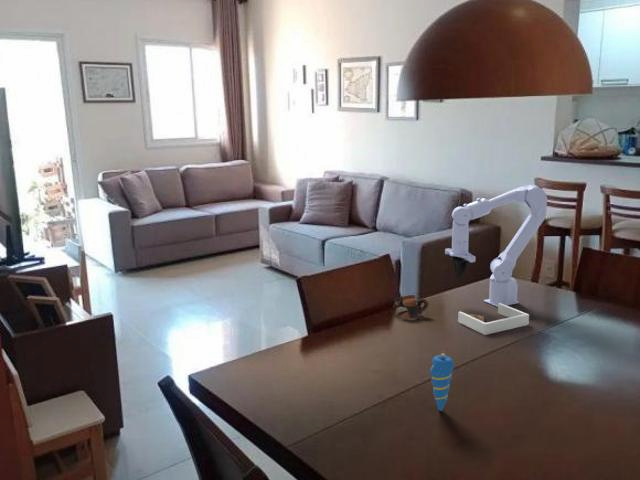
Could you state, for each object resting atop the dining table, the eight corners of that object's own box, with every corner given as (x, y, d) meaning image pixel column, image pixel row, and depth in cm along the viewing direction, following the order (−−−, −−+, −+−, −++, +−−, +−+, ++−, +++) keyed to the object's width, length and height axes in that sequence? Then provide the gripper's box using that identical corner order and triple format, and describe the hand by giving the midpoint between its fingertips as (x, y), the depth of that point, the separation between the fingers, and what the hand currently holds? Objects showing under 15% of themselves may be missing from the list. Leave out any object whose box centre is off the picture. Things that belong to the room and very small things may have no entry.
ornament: (436, 403, 137) (437, 344, 133) (456, 409, 133) (458, 350, 130) (425, 412, 133) (426, 352, 129) (446, 419, 129) (447, 357, 126)
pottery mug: (395, 322, 192) (390, 298, 194) (398, 324, 200) (393, 301, 203) (430, 314, 189) (424, 290, 192) (432, 317, 198) (427, 294, 200)
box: (500, 312, 196) (500, 303, 195) (528, 324, 184) (529, 314, 184) (458, 321, 188) (458, 311, 188) (484, 335, 177) (485, 324, 176)
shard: (480, 332, 180) (480, 326, 180) (456, 329, 183) (456, 324, 183) (485, 320, 190) (485, 315, 190) (461, 318, 193) (462, 313, 193)
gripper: (438, 238, 208) (437, 274, 211) (464, 245, 195) (463, 283, 198) (454, 235, 211) (453, 271, 214) (480, 243, 198) (479, 280, 201)
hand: (459, 277), depth 206 cm, fingers closed
